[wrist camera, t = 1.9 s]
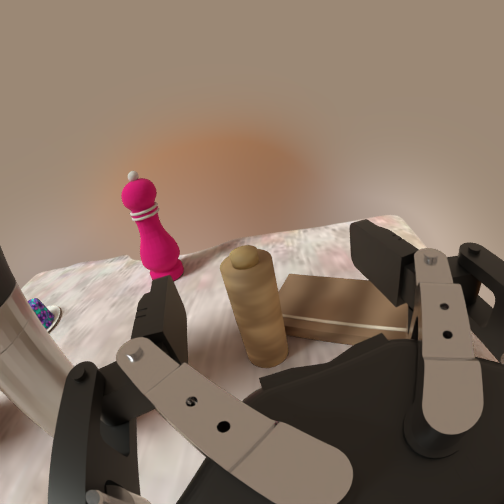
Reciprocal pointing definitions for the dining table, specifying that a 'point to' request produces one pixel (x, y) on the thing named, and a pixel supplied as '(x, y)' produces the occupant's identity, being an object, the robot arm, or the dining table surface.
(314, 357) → the dining table surface
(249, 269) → the tan tall cylinder
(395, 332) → the walnut board
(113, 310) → the dining table surface
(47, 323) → the blue patterned hat
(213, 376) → the dining table surface
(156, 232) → the pepper mill
